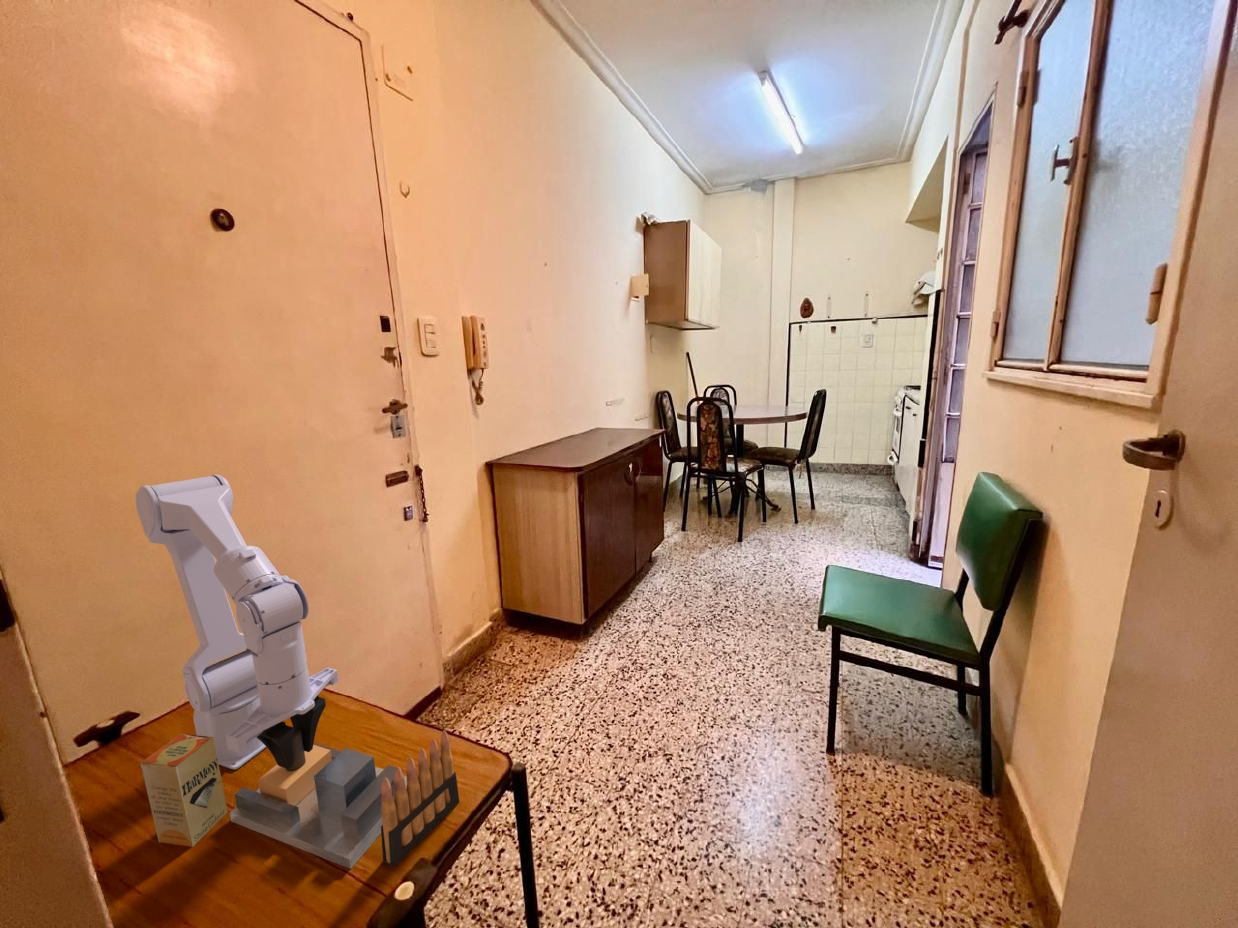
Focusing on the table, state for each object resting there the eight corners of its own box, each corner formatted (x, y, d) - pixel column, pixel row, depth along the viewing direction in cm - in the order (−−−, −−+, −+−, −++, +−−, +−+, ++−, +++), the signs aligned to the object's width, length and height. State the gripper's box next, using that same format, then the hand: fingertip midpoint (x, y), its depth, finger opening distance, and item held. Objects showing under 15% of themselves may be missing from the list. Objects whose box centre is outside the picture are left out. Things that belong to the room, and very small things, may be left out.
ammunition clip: (392, 868, 59) (382, 786, 57) (382, 861, 60) (372, 779, 58) (459, 801, 68) (454, 728, 66) (450, 795, 69) (444, 723, 67)
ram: (261, 801, 66) (252, 748, 65) (307, 761, 73) (300, 712, 71) (289, 811, 65) (280, 757, 63) (333, 770, 71) (326, 720, 70)
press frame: (231, 821, 65) (225, 790, 64) (311, 754, 76) (307, 727, 75) (350, 868, 59) (346, 835, 58) (418, 788, 70) (415, 759, 69)
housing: (310, 810, 65) (305, 773, 64) (342, 780, 70) (337, 745, 68) (348, 824, 63) (343, 785, 62) (378, 792, 68) (373, 756, 67)
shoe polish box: (227, 811, 67) (213, 736, 64) (192, 846, 62) (175, 767, 59) (195, 807, 67) (180, 733, 65) (158, 842, 62) (140, 763, 60)
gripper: (249, 714, 57) (265, 809, 60) (349, 646, 71) (359, 727, 73) (207, 701, 59) (225, 793, 62) (313, 638, 73) (324, 716, 76)
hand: (295, 756), depth 68 cm, fingers closed on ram, 2 cm apart
